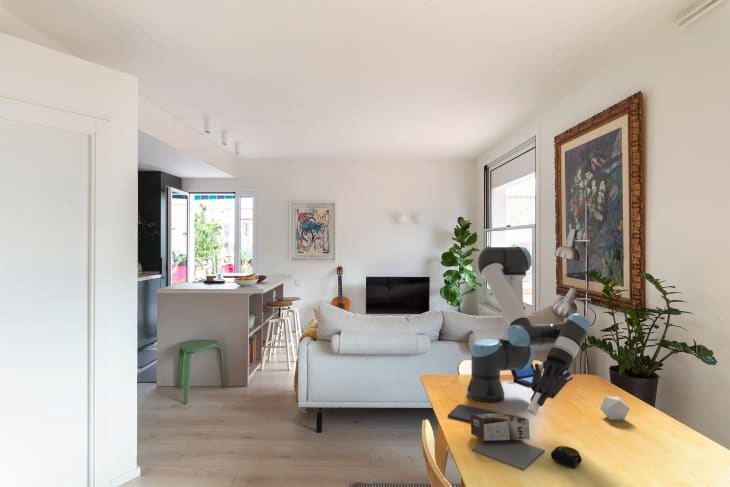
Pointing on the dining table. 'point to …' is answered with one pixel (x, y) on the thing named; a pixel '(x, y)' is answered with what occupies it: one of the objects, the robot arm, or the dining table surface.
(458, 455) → the dining table surface
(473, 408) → the notebook
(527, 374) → the handheld game console
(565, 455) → the tape measure
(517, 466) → the mat
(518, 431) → the coffee box
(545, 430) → the dining table surface
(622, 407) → the die
